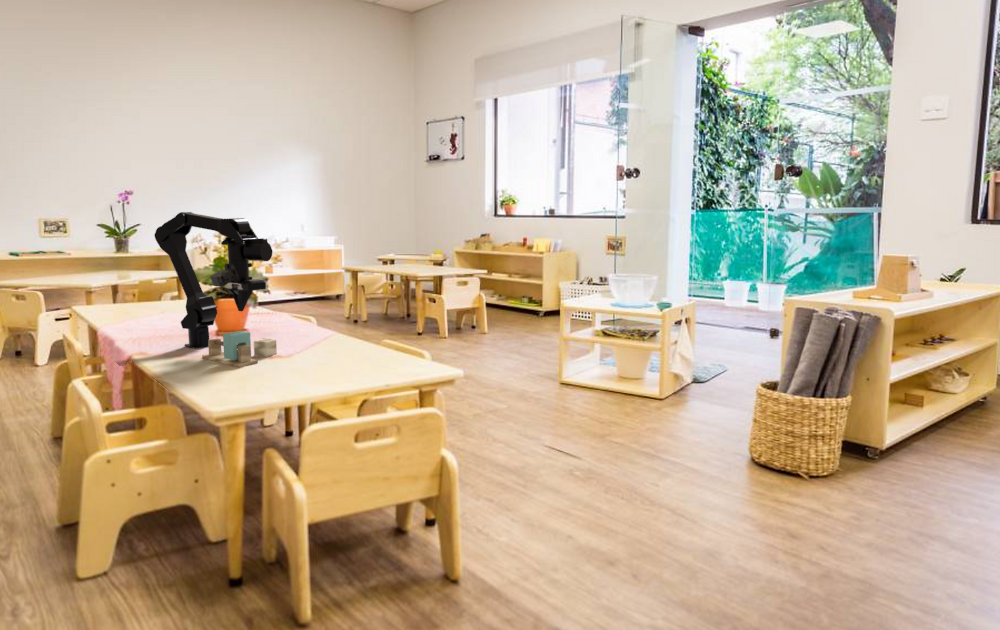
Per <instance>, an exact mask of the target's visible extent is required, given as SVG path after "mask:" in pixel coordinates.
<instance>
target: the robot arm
mask: <svg viewBox="0 0 1000 630" xmlns="http://www.w3.org/2000/svg"><path fill="white" fill-rule="evenodd" d="M192 228H198V229H203V230H211V231H214V232H217V233H219V234H220V235H221V236H224V237H225V238H224V240H222V241H221V242H220V244H221V245H222V246H227V260H228V262H227V263H225V264H224V268H223V269H222V270H219V271H217V272H215V273H213V274H211V275H210V276H209V277H210V280H211V282H212V285H213V286H214V287H218V288H221V287H223V288H224V287H225V286H226V288H224V290H225V291H227V292H228V293H230V294H231V295H232V298H233V301H234V302H235V303H234V304H235V305H236V308H237V310H238V311H239V312H243V311H244V310H245V308H246V305H247V303H248V301H249V299H250V297H251V295H252V293H253V291H261V290H266V289H267V282H266V281H265V280H264V279H260V278H254V279H253V276H250V268H251V267H252V266H253V264H252V263H251V261H252V262H269V261H270V260H271V259H272V256H273V249H272V246H271V244H270V243H269V242H268V238H265V237H262V238H258V236H257V234H256V233H255V231H254V230H253V229H252V226H251V225H250V222H249V220H248V219H247V218H245V217H244V218H243V217H240V218H239V217H238V218H236V217H235V218H220V217H215V216H209V215H204V214H198V213H194V212H192V211H186V212H185V211H181V212H178V213H177V214H176V215H175V216H174V217H172V218H171V219H169V220H168V221H166V222H164V223H163V224H162V225H161V226H158V227H157V228H156V229H155V233H154V238H155V239H154V240H155V241H156V243H157V244H158V246H159V248H160V250H162V251H163V252H165V254H166V255H168V257H169V258H170V261H171V263H172V266H173V269H174V270H175V273H176V275H177V277H178V280H179V282H180V284H181V287H182V290H183V292H184V294H185V295H184V296H186V302H185V310H186V315H185V316H184V317H183V318H182V319H181V321H180V324H181V327H182V329H183V330H184V329H185V330H186V329H187V332H188V335H187V336H188V343H184V347H187V348H192V349H200V348H207V347H208V340H210V332H209V331H210V330H209V328H210V327H209V326H214V324H215V319H216V318H217V315H218V305H217V304H216V302H215V300H214V297H213V296H212V295H206V294H205V293H204V291H203V290H202V287H201V284H200V282H199V280H198V277H197V275H196V273H195V270H194V268H193V265H192V263H191V260H190V259H189V256H188V253H187V250H186V249H187V244H188V241H187V235H189V234H190V233H191V231H192ZM249 261H250V262H249Z"/></svg>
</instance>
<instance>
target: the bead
mask: <svg viewBox="0 0 1000 630" xmlns="http://www.w3.org/2000/svg"><path fill="white" fill-rule="evenodd" d="M222 340H223V341H222V342H223V345H224V346H223V352H224V358H226V359H230V360H236V359H238V349H237V345H241V346H243V345H250V349H251V350H252V346H251V332H250V331H245V330H239V331H231V332H226V333H223V334H222Z"/></svg>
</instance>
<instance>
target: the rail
mask: <svg viewBox="0 0 1000 630" xmlns="http://www.w3.org/2000/svg"><path fill="white" fill-rule="evenodd" d="M207 347H208V353H206V354H202V359H206V360H208V361H209V360H210V361H214V362H218V363H222V364H225V365H231V366H233V367H238V368H241V367H245V366H250V365H256V364H258V363H259V360H258V359H253V358H252V348H251V349H250V345H243V346H241V345H237V350H238V359H236V360H230V359H226V358H224V351H222V347H224V345H223V341H222V340H221V338H212V339H209V340H208V346H207Z"/></svg>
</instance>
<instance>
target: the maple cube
mask: <svg viewBox="0 0 1000 630" xmlns="http://www.w3.org/2000/svg"><path fill="white" fill-rule="evenodd" d="M253 352H254V353H253V354H254V357H265V358H269V357H272V356H274V354H275V355H277V353H278V351H277V339H276V338H275V339H274V338H273V339H272V338H261V339H256V340H254V341H253ZM271 355H272V356H271Z"/></svg>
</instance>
